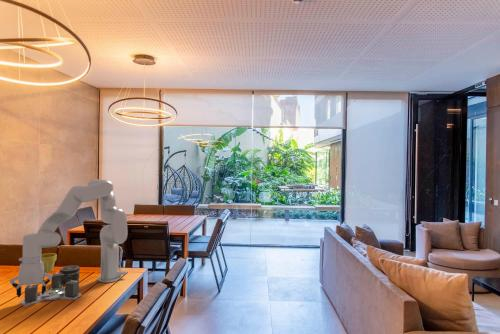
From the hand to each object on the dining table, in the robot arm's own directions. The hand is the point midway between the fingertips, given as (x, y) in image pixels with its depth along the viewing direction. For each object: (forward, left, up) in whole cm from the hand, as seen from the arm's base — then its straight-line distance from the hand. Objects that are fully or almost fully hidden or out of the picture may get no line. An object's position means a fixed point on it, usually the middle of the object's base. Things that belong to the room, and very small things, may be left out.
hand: (31, 294), depth 154 cm
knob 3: (-17, 0, -2) cm, 17 cm away
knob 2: (-9, -15, -2) cm, 17 cm away
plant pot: (+1, -49, -4) cm, 49 cm away
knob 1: (0, 0, -2) cm, 2 cm away
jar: (-14, -25, -4) cm, 29 cm away
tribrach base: (-9, -7, -4) cm, 12 cm away
